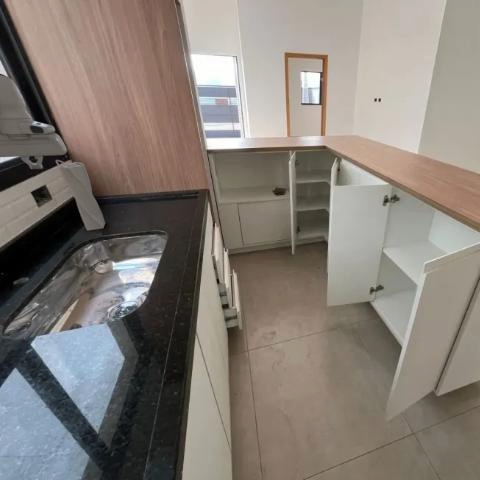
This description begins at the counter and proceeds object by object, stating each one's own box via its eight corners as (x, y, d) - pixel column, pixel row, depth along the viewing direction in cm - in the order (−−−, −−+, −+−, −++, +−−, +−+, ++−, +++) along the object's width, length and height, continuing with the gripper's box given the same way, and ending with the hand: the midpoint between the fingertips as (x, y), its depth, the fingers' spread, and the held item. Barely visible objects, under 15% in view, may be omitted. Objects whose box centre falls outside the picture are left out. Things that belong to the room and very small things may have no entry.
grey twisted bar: (81, 232, 107) (51, 162, 93) (86, 225, 112) (57, 158, 99) (106, 229, 110) (79, 160, 97) (108, 222, 116) (84, 156, 103)
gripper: (-32, 128, 83) (-8, 172, 89) (52, 128, 90) (69, 168, 97) (-20, 126, 88) (3, 168, 94) (59, 126, 95) (75, 165, 102)
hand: (37, 168), depth 96 cm, fingers closed
